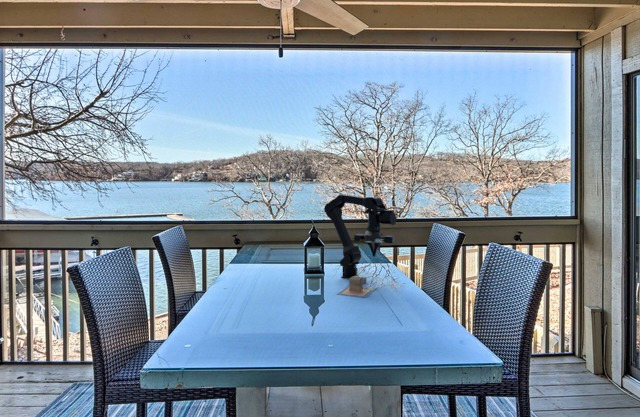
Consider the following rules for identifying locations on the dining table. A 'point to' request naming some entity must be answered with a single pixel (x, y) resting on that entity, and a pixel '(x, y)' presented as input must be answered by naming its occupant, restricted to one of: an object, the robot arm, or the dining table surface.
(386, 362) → the dining table surface
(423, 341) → the dining table surface
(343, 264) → the robot arm
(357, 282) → the block
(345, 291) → the picture mat
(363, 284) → the button housing
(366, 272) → the dining table surface
